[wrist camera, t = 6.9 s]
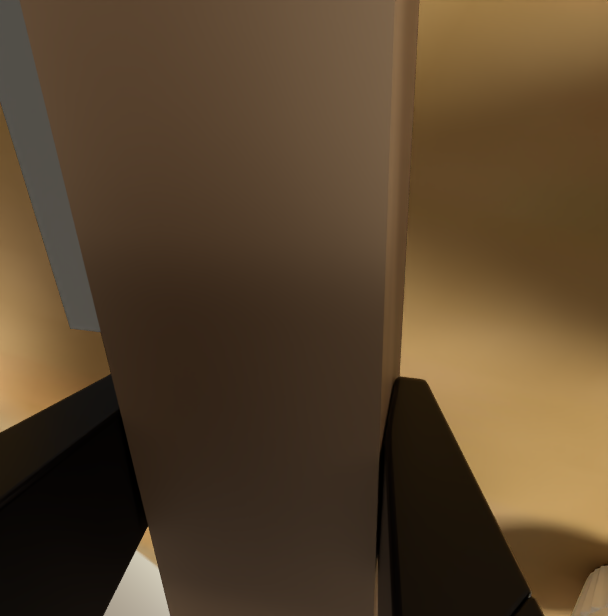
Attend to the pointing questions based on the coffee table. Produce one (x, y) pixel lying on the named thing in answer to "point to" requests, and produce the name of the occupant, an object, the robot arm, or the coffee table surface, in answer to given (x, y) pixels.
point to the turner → (244, 274)
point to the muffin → (593, 595)
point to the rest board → (42, 166)
